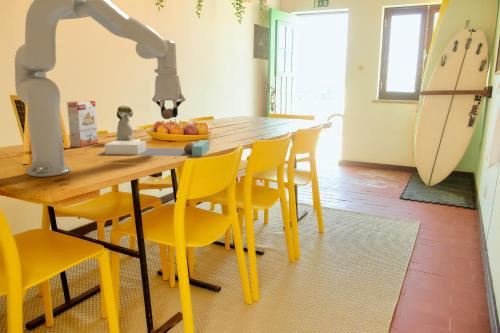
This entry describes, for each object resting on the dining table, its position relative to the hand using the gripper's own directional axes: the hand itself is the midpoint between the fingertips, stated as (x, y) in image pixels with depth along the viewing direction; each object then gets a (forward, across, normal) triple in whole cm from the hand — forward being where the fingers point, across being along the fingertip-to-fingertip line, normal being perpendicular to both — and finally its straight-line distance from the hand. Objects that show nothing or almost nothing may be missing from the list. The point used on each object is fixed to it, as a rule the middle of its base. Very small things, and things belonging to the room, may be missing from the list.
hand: (169, 116), depth 162 cm
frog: (+16, -29, +24) cm, 41 cm away
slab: (+15, -19, -2) cm, 24 cm away
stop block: (+15, +13, 0) cm, 20 cm away
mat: (+16, -7, 0) cm, 17 cm away
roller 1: (+1, 0, 0) cm, 1 cm away
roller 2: (+15, +8, 0) cm, 17 cm away
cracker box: (+16, -47, +17) cm, 53 cm away
